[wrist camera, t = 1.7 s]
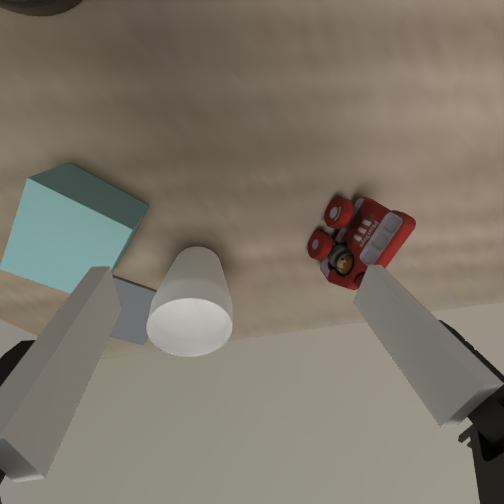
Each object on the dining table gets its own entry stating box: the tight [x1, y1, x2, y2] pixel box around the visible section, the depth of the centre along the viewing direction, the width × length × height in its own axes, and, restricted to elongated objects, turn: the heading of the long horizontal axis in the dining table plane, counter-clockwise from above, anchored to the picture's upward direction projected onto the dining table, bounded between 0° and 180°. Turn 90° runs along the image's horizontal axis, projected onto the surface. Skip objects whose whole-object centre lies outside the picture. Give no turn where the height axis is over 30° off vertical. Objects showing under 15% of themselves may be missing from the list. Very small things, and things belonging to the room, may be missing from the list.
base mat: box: [109, 275, 157, 345], centre depth 37 cm, size 12×12×1 cm
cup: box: [146, 246, 233, 357], centre depth 30 cm, size 9×9×12 cm
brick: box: [0, 163, 149, 294], centre depth 27 cm, size 9×11×7 cm
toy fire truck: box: [308, 197, 416, 290], centre depth 31 cm, size 7×12×10 cm, turn 160°
